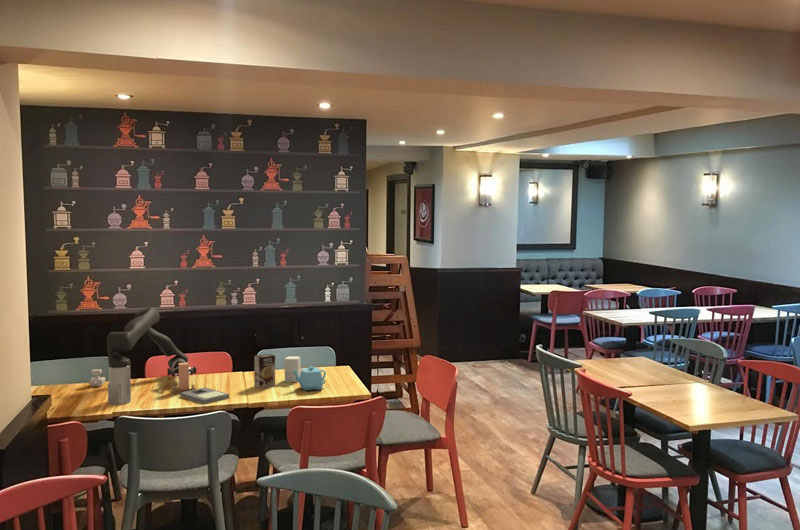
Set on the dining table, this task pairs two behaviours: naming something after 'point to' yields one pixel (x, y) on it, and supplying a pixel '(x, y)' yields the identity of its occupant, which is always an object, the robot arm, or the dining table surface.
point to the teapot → (310, 378)
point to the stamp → (97, 378)
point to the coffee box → (264, 371)
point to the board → (204, 395)
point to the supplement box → (292, 368)
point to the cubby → (182, 390)
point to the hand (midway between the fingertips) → (182, 373)
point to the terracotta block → (183, 376)
